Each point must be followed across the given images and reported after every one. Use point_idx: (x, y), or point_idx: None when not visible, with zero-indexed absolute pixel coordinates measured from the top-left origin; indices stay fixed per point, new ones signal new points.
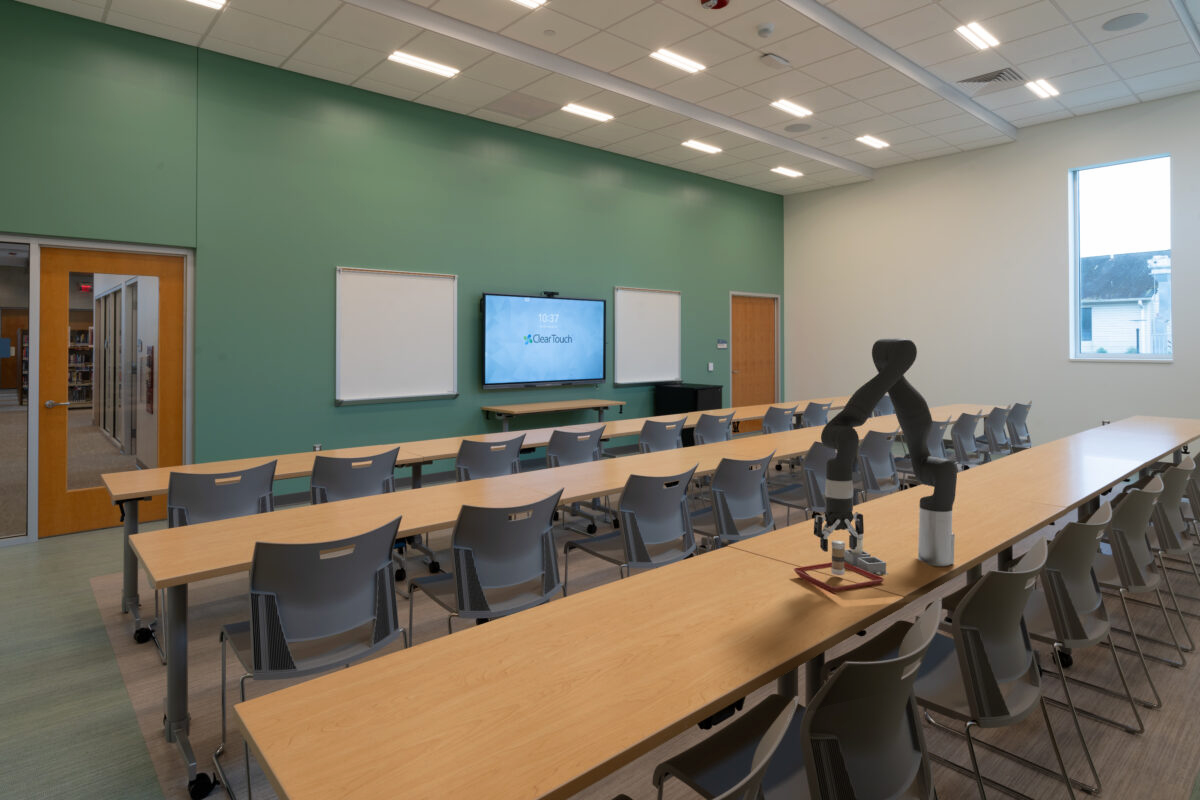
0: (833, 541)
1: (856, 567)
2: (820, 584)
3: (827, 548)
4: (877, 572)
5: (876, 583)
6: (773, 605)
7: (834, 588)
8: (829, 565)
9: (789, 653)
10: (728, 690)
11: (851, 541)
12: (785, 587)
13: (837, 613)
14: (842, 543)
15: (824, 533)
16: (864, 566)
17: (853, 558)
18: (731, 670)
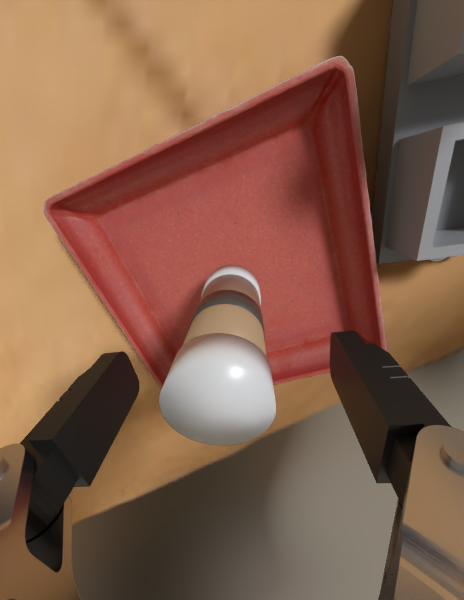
0: (179, 384)
1: (365, 209)
2: (149, 345)
3: (128, 408)
4: (431, 259)
5: None
6: (30, 408)
7: None
8: (249, 118)
9: (73, 520)
10: None
11: (354, 406)
12: (48, 309)
13: (166, 445)
14: (242, 431)
15: (13, 507)
16: (405, 223)
17: (442, 64)
18: None
